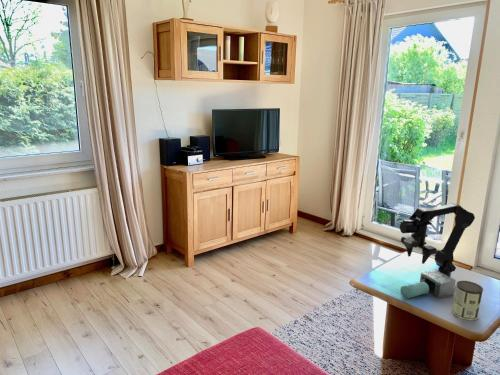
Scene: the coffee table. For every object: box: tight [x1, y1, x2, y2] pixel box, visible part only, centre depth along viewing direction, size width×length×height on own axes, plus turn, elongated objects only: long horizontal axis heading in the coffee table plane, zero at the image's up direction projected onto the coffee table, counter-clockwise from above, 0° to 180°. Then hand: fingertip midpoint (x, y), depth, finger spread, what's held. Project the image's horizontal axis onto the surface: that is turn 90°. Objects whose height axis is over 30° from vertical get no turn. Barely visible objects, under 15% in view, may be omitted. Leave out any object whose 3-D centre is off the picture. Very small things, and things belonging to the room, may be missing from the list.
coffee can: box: [451, 280, 484, 321], centre depth 165 cm, size 10×10×14 cm
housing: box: [419, 269, 457, 299], centre depth 186 cm, size 11×12×8 cm
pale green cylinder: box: [400, 282, 429, 299], centre depth 180 cm, size 13×6×6 cm, turn 113°
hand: (415, 259), depth 193 cm, fingers open, 9 cm apart
